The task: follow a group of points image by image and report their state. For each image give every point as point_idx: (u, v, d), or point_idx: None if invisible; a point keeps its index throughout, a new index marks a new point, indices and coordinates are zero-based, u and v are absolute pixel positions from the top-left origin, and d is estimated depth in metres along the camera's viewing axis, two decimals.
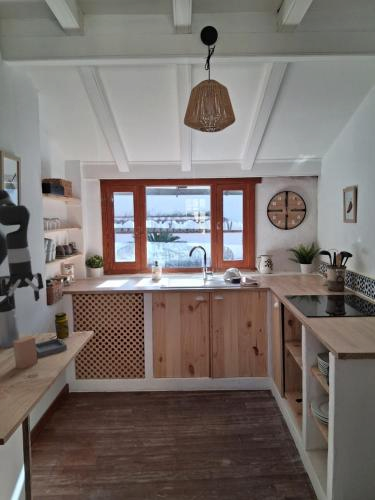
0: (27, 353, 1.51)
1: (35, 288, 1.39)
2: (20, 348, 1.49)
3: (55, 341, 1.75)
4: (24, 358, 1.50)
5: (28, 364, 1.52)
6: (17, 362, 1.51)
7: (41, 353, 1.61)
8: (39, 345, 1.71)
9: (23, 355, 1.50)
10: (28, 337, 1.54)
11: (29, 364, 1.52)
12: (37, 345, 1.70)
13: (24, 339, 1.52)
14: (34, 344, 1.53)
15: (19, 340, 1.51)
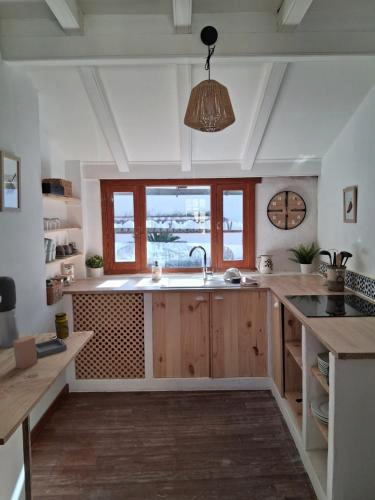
0: (27, 353, 1.51)
1: None
2: (20, 348, 1.49)
3: (55, 341, 1.75)
4: (24, 358, 1.50)
5: (28, 364, 1.52)
6: (17, 362, 1.51)
7: (41, 353, 1.61)
8: (39, 345, 1.71)
9: (23, 355, 1.50)
10: (28, 337, 1.54)
11: (29, 364, 1.52)
12: (37, 345, 1.70)
13: (24, 339, 1.52)
14: (34, 344, 1.53)
15: (19, 340, 1.51)
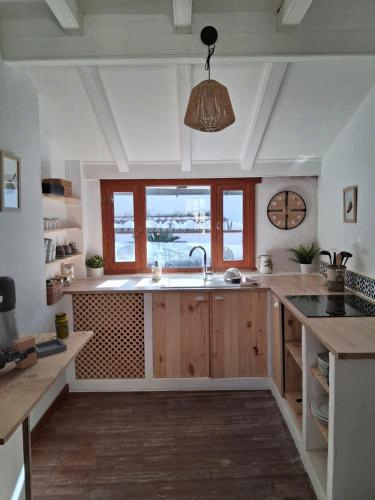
0: None
1: None
2: (20, 348, 1.49)
3: (55, 341, 1.75)
4: None
5: (28, 364, 1.52)
6: None
7: (41, 353, 1.61)
8: (39, 345, 1.71)
9: None
10: (28, 337, 1.54)
11: (29, 364, 1.52)
12: (37, 345, 1.70)
13: (24, 339, 1.52)
14: (34, 344, 1.53)
15: (19, 340, 1.51)
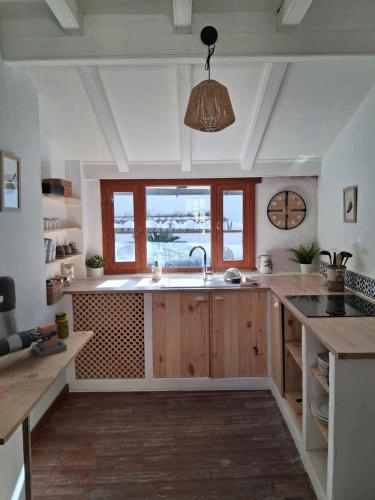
0: None
1: None
2: None
3: None
4: (47, 342, 1.65)
5: (50, 347, 1.67)
6: (41, 346, 1.66)
7: (41, 353, 1.61)
8: None
9: None
10: (50, 323, 1.69)
11: (51, 347, 1.67)
12: (37, 345, 1.70)
13: (47, 325, 1.67)
14: (56, 329, 1.68)
15: (42, 326, 1.65)
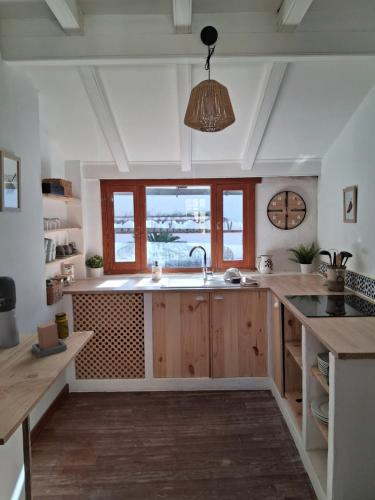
0: (50, 337, 1.66)
1: None
2: (44, 333, 1.64)
3: None
4: (47, 342, 1.65)
5: (50, 347, 1.67)
6: (41, 346, 1.66)
7: (41, 353, 1.61)
8: None
9: (47, 339, 1.65)
10: (50, 323, 1.69)
11: (51, 347, 1.67)
12: (37, 345, 1.70)
13: (47, 325, 1.67)
14: (56, 329, 1.68)
15: (42, 326, 1.65)
